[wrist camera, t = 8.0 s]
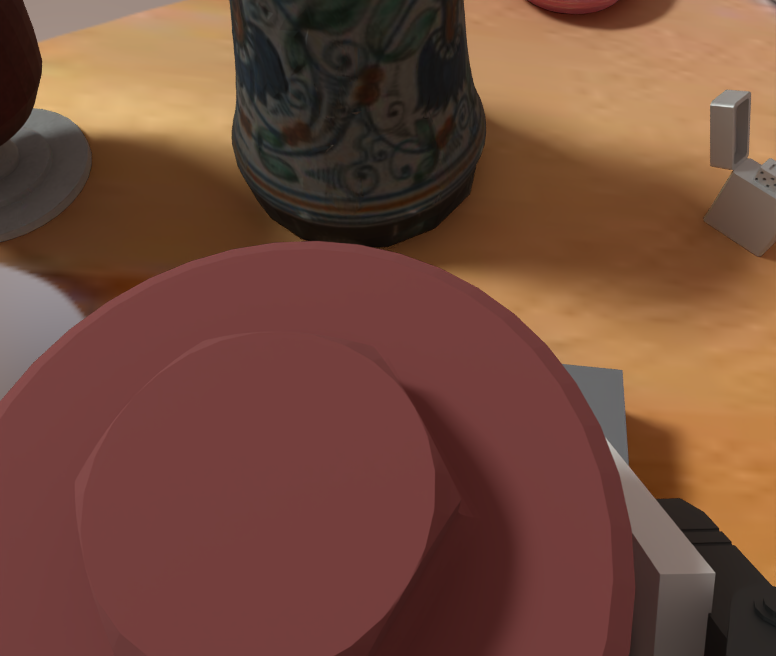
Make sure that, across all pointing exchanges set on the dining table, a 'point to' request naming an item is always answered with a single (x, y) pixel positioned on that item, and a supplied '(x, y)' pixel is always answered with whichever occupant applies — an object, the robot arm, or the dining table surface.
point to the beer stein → (355, 115)
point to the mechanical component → (308, 473)
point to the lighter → (741, 177)
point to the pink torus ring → (573, 5)
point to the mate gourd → (32, 136)
